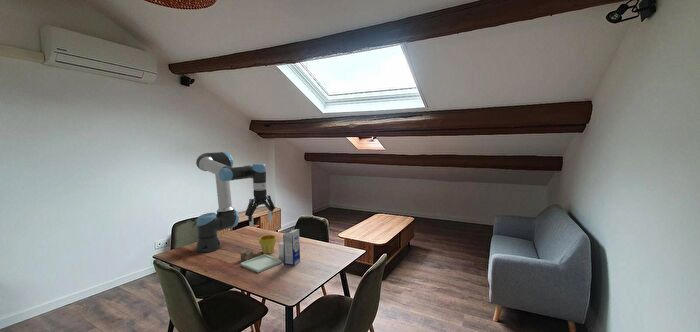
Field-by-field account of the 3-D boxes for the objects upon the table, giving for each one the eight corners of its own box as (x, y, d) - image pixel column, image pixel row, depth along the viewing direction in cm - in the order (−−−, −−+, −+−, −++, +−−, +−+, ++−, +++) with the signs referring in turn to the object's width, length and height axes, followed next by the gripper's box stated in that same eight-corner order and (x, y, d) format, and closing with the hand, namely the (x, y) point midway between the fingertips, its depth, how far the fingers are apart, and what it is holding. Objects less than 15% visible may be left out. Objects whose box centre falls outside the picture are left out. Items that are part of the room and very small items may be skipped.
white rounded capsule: (276, 258, 178) (275, 243, 177) (285, 254, 184) (284, 240, 183) (284, 260, 174) (283, 246, 173) (292, 256, 179) (292, 242, 179)
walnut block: (240, 260, 175) (240, 252, 175) (246, 257, 180) (246, 249, 180) (247, 261, 174) (247, 253, 173) (253, 258, 178) (252, 250, 178)
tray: (240, 265, 168) (240, 263, 168) (264, 256, 181) (264, 253, 181) (258, 272, 158) (258, 270, 158) (282, 262, 172) (282, 259, 171)
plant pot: (271, 255, 182) (271, 240, 181) (256, 254, 184) (256, 239, 183) (279, 249, 192) (278, 235, 191) (264, 248, 194) (264, 234, 193)
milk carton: (294, 266, 166) (292, 232, 164) (283, 264, 168) (282, 231, 166) (300, 261, 172) (299, 228, 171) (290, 260, 175) (289, 227, 173)
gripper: (245, 193, 162) (247, 230, 164) (280, 186, 182) (281, 219, 184) (237, 191, 166) (239, 228, 168) (272, 185, 186) (273, 217, 188)
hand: (261, 223), depth 176 cm, fingers open, 13 cm apart
